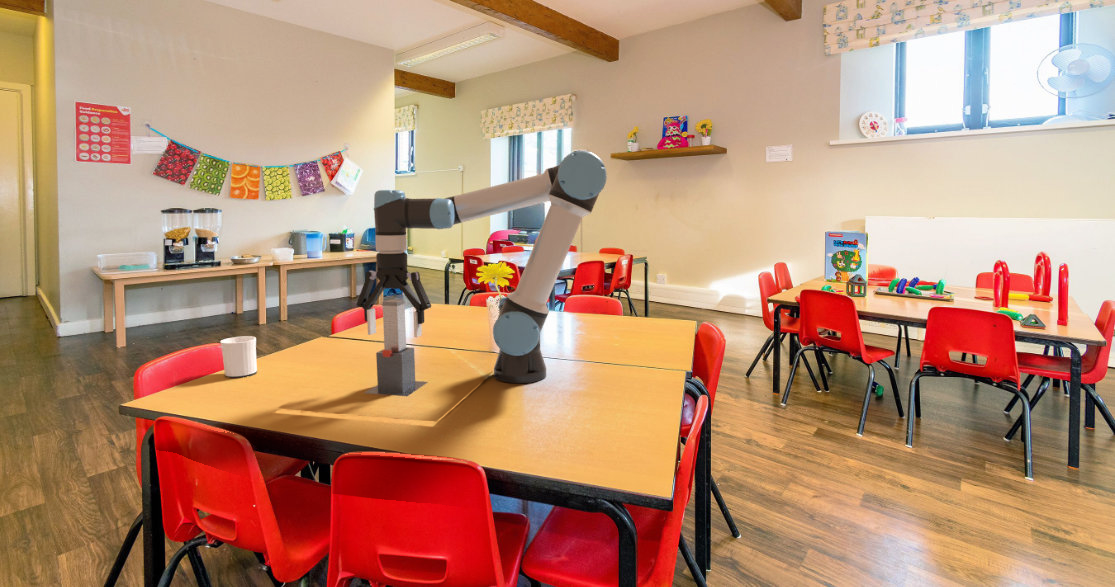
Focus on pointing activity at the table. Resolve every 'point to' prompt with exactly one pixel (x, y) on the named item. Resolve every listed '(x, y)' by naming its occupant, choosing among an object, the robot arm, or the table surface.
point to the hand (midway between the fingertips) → (394, 335)
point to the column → (394, 325)
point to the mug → (239, 356)
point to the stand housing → (396, 373)
